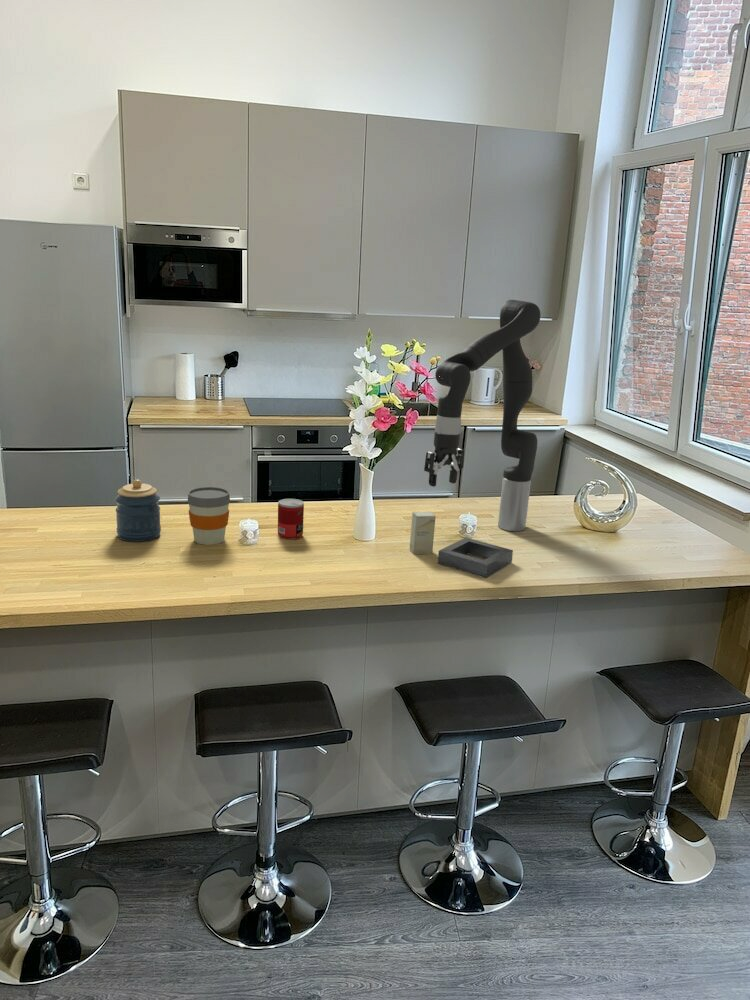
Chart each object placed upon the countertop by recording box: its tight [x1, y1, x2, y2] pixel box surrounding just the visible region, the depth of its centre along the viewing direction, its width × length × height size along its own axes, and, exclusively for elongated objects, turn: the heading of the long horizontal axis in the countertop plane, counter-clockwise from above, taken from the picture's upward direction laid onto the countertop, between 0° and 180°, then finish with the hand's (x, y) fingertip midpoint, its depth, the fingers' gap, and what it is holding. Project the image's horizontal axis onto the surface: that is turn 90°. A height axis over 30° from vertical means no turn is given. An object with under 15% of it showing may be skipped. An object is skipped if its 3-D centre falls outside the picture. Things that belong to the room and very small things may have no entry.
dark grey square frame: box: [437, 537, 514, 579], centre depth 229 cm, size 16×16×4 cm
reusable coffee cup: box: [187, 486, 231, 546], centre depth 235 cm, size 12×13×15 cm
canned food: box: [277, 498, 305, 540], centre depth 243 cm, size 8×8×11 cm
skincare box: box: [409, 511, 437, 555], centre depth 235 cm, size 6×4×12 cm
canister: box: [114, 479, 162, 543], centre depth 235 cm, size 13×13×18 cm
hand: (442, 484), depth 233 cm, fingers open, 8 cm apart
